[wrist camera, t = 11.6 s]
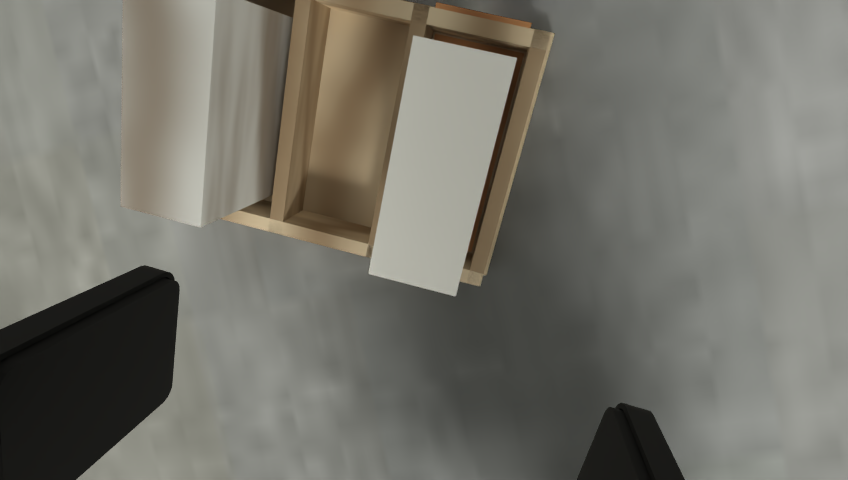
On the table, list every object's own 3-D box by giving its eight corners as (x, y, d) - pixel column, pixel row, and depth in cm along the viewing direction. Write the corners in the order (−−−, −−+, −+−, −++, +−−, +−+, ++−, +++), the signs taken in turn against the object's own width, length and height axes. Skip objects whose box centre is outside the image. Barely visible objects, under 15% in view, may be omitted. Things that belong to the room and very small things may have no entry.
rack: (552, 35, 26) (583, 3, 17) (486, 270, 31) (481, 347, 22) (222, -37, 28) (80, -104, 18) (205, 197, 32) (85, 240, 23)
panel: (511, 69, 26) (517, 57, 18) (467, 237, 29) (455, 296, 21) (440, 53, 27) (413, 35, 18) (405, 222, 30) (368, 273, 21)
